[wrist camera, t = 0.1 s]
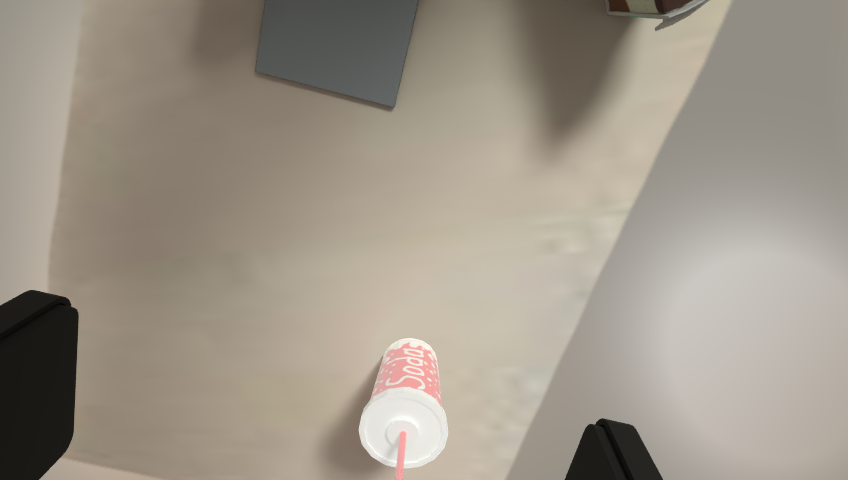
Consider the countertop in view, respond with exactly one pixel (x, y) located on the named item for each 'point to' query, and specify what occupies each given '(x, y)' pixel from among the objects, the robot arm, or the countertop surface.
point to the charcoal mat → (338, 44)
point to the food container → (655, 9)
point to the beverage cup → (405, 408)
